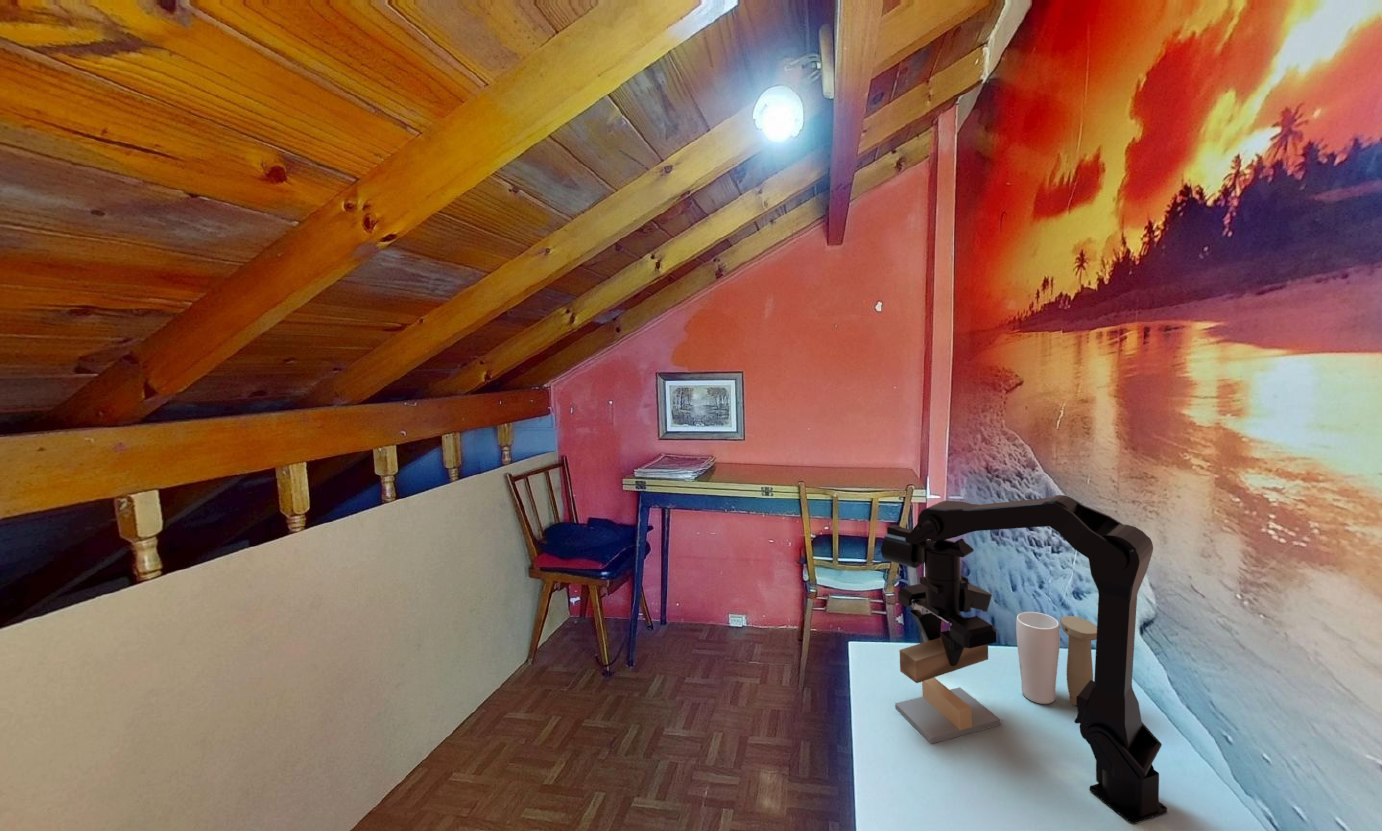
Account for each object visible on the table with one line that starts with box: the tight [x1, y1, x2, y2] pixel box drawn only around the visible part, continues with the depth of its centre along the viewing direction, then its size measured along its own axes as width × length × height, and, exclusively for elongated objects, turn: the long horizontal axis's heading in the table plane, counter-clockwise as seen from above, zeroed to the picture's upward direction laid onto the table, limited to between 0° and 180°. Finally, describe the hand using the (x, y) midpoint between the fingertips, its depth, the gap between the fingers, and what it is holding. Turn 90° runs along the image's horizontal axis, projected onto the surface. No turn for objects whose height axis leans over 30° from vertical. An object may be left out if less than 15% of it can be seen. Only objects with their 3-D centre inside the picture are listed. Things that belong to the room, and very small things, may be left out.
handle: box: [1059, 615, 1097, 706], centre depth 100 cm, size 5×6×15 cm
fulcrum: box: [894, 677, 1002, 745], centre depth 100 cm, size 10×14×4 cm
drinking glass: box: [1015, 611, 1061, 705], centre depth 103 cm, size 7×7×15 cm
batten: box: [898, 637, 989, 684], centre depth 99 cm, size 4×16×4 cm, turn 110°
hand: (944, 658), depth 99 cm, fingers closed on batten, 4 cm apart
